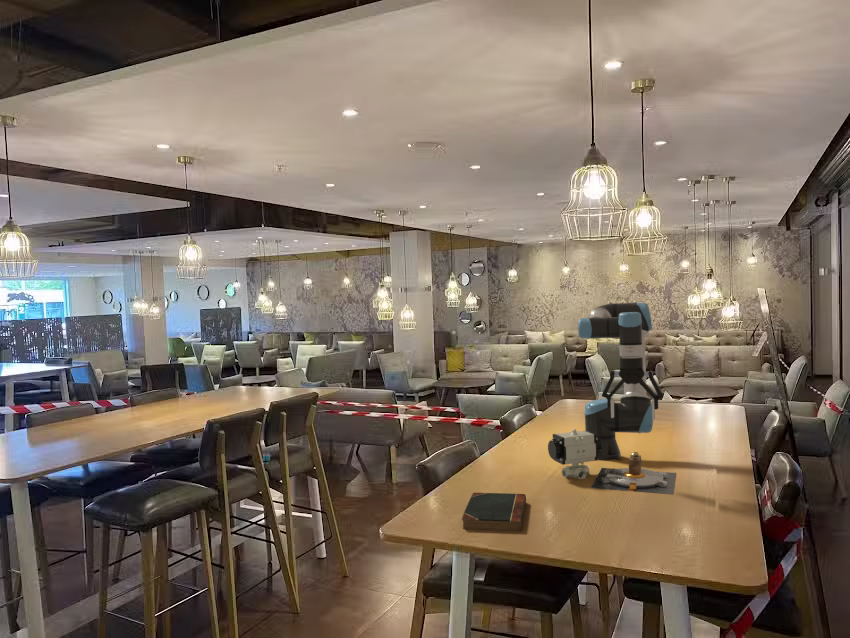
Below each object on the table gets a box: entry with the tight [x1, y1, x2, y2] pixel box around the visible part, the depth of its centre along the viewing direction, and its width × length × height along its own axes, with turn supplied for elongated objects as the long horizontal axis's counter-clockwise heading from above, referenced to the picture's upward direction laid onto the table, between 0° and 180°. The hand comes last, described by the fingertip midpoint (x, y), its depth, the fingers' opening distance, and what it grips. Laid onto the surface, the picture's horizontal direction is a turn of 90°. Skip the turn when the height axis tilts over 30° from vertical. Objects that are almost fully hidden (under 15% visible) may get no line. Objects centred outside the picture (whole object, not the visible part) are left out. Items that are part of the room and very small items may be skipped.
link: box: [628, 454, 642, 475], centre depth 224 cm, size 4×7×5 cm, turn 157°
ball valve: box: [547, 428, 602, 480], centre depth 230 cm, size 18×8×18 cm, turn 105°
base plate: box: [590, 467, 677, 496], centre depth 222 cm, size 26×26×1 cm
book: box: [461, 492, 527, 532], centre depth 196 cm, size 17×4×25 cm
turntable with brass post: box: [602, 451, 667, 490], centre depth 222 cm, size 21×23×8 cm
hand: (632, 418), depth 222 cm, fingers open, 13 cm apart
